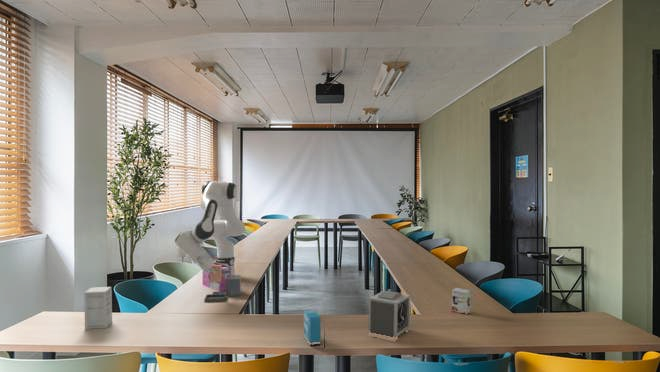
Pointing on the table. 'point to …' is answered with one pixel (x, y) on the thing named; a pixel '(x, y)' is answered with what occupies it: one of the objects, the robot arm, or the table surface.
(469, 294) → the ink box
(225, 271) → the gum box
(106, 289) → the supplement box
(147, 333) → the table surface
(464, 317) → the table surface
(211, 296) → the tray
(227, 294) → the dispenser
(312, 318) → the data package
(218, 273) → the salmon pink tall block
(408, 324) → the alarm clock
